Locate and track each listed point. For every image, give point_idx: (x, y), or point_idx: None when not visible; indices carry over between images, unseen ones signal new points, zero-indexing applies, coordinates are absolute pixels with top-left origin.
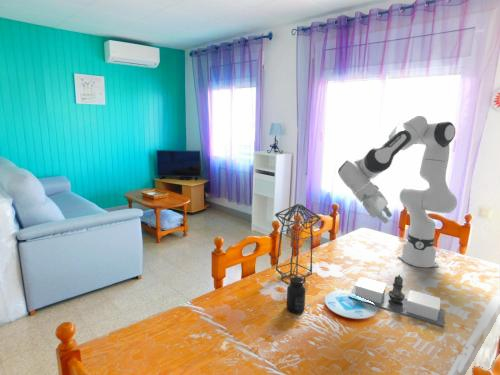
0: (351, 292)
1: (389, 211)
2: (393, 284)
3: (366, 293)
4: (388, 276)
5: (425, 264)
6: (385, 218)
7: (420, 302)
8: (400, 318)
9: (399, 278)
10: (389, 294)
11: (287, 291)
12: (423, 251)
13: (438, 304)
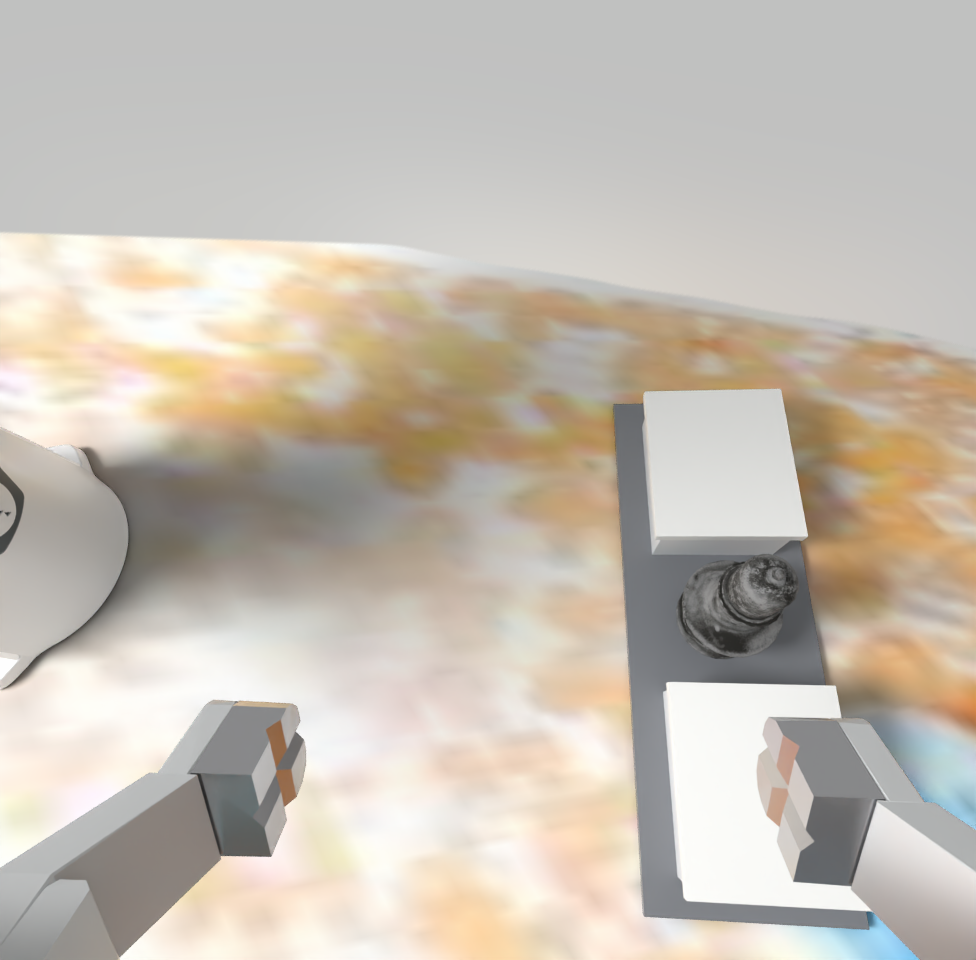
0: (797, 921)
1: (180, 781)
2: (764, 621)
3: None
4: (363, 707)
5: (106, 505)
6: (912, 796)
7: (774, 472)
8: (851, 576)
9: (790, 572)
10: (767, 647)
11: None
12: (30, 495)
13: (725, 395)
